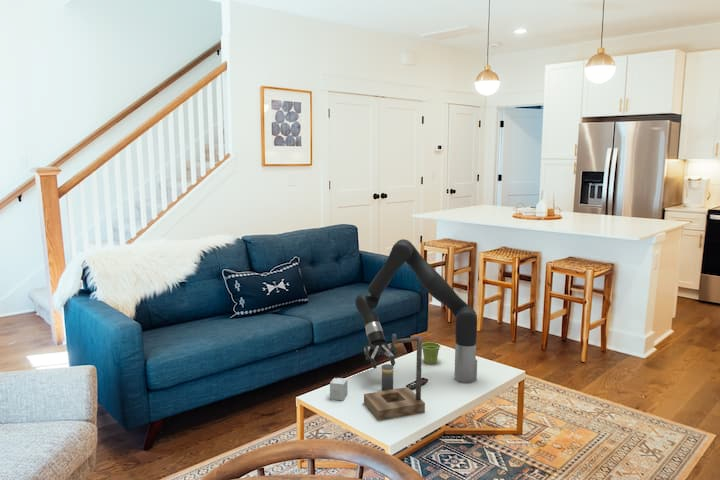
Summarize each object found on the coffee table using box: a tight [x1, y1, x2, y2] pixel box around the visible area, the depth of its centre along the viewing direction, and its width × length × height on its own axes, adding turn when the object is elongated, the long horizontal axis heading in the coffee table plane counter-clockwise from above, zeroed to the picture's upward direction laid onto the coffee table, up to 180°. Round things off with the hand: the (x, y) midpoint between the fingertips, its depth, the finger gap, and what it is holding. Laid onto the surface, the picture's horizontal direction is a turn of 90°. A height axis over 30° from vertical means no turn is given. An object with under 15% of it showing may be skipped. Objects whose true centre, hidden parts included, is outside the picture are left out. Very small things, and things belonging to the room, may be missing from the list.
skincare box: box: [329, 377, 348, 401], centre depth 232 cm, size 6×6×7 cm
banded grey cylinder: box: [381, 363, 395, 391], centre depth 239 cm, size 5×5×11 cm
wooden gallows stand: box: [363, 333, 426, 422], centre depth 221 cm, size 20×16×32 cm
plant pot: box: [422, 341, 441, 365], centre depth 272 cm, size 9×9×9 cm
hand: (384, 366), depth 242 cm, fingers open, 8 cm apart
